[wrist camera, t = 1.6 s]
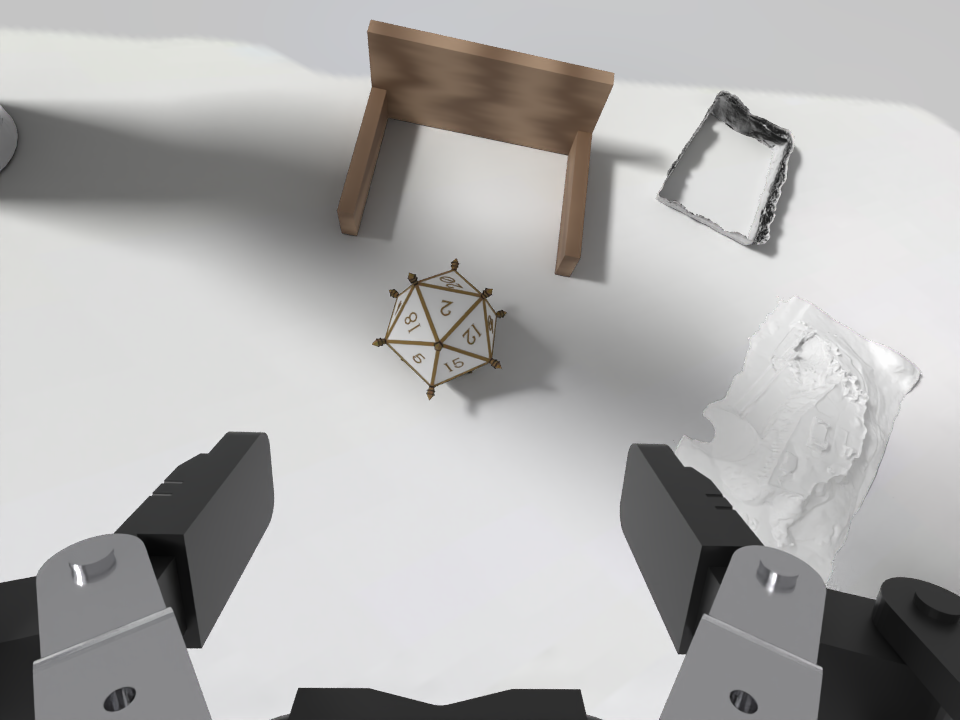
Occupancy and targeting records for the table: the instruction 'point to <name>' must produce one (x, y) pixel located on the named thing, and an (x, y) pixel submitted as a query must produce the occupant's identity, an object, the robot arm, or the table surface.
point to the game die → (442, 327)
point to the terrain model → (803, 430)
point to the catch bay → (479, 111)
